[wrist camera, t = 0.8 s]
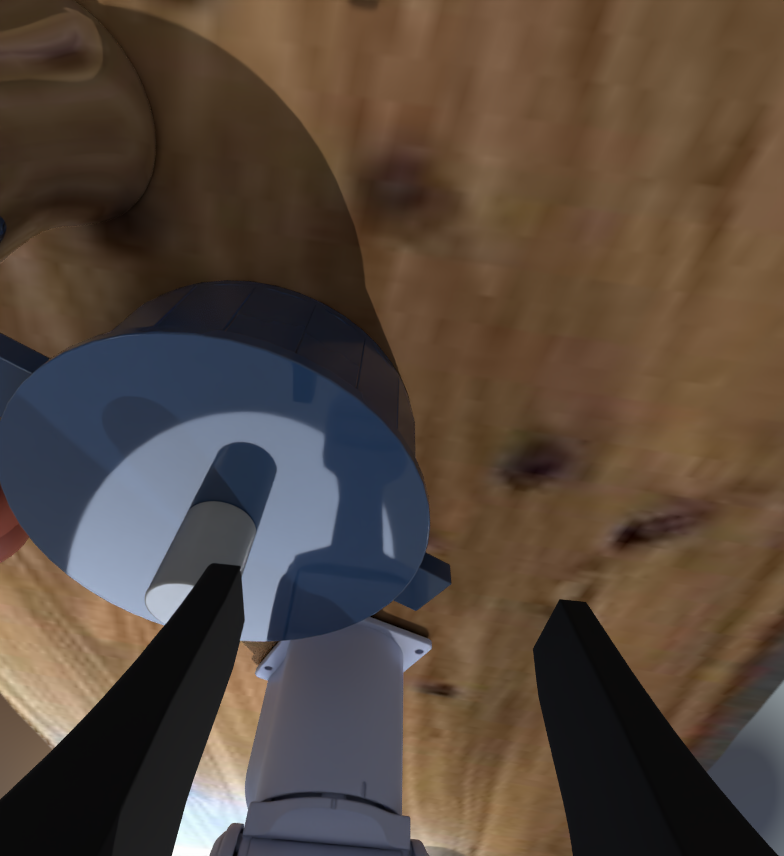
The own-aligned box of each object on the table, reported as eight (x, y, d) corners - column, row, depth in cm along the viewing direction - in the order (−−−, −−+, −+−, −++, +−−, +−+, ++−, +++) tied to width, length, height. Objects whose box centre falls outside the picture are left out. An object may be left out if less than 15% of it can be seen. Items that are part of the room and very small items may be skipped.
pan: (356, 588, 27) (347, 677, 23) (1, 425, 21) (-96, 506, 17) (526, 437, 21) (554, 523, 17) (86, 142, 15) (-35, 165, 11)
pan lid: (304, 654, 23) (285, 756, 20) (-19, 528, 19) (-117, 631, 15) (515, 474, 16) (543, 581, 13) (86, 203, 12) (-50, 256, 8)
